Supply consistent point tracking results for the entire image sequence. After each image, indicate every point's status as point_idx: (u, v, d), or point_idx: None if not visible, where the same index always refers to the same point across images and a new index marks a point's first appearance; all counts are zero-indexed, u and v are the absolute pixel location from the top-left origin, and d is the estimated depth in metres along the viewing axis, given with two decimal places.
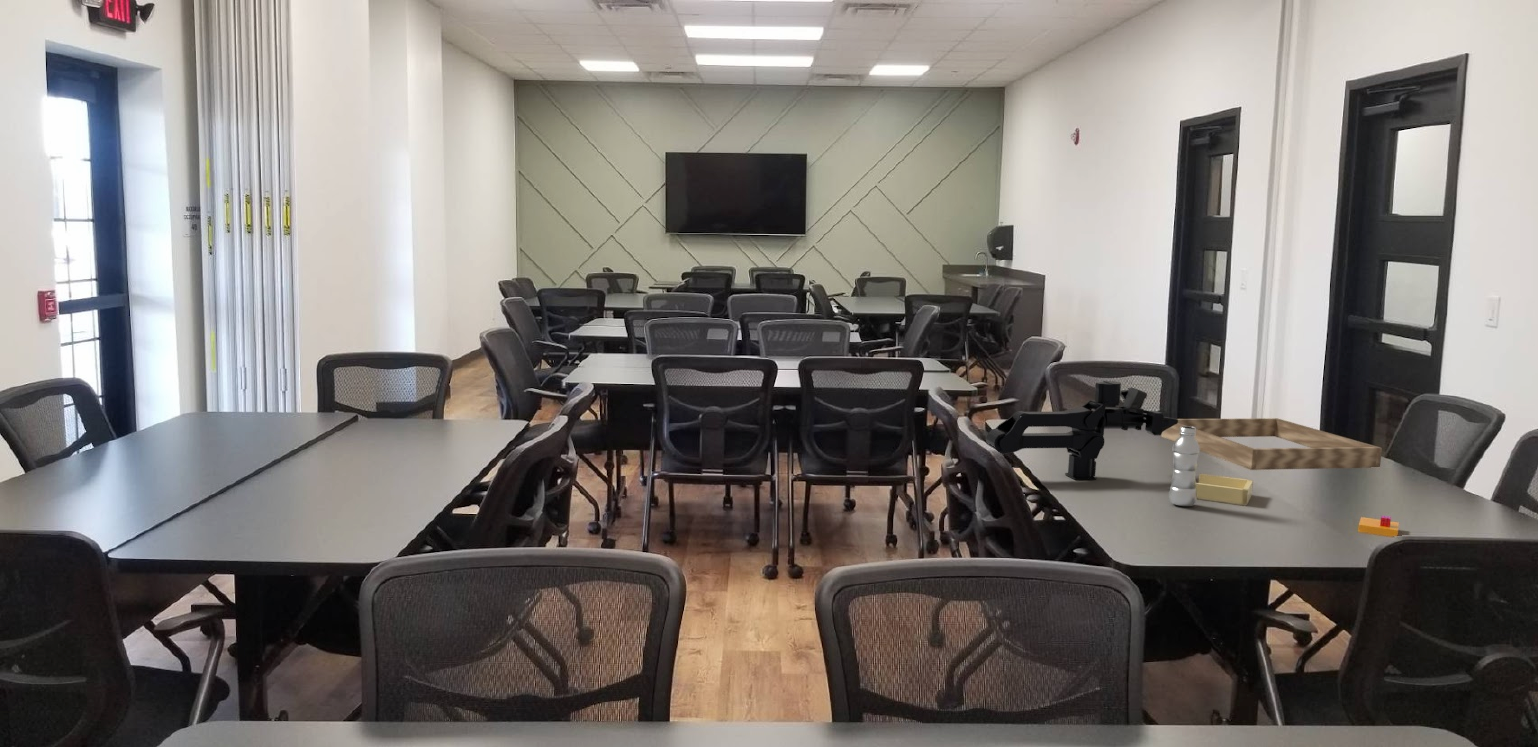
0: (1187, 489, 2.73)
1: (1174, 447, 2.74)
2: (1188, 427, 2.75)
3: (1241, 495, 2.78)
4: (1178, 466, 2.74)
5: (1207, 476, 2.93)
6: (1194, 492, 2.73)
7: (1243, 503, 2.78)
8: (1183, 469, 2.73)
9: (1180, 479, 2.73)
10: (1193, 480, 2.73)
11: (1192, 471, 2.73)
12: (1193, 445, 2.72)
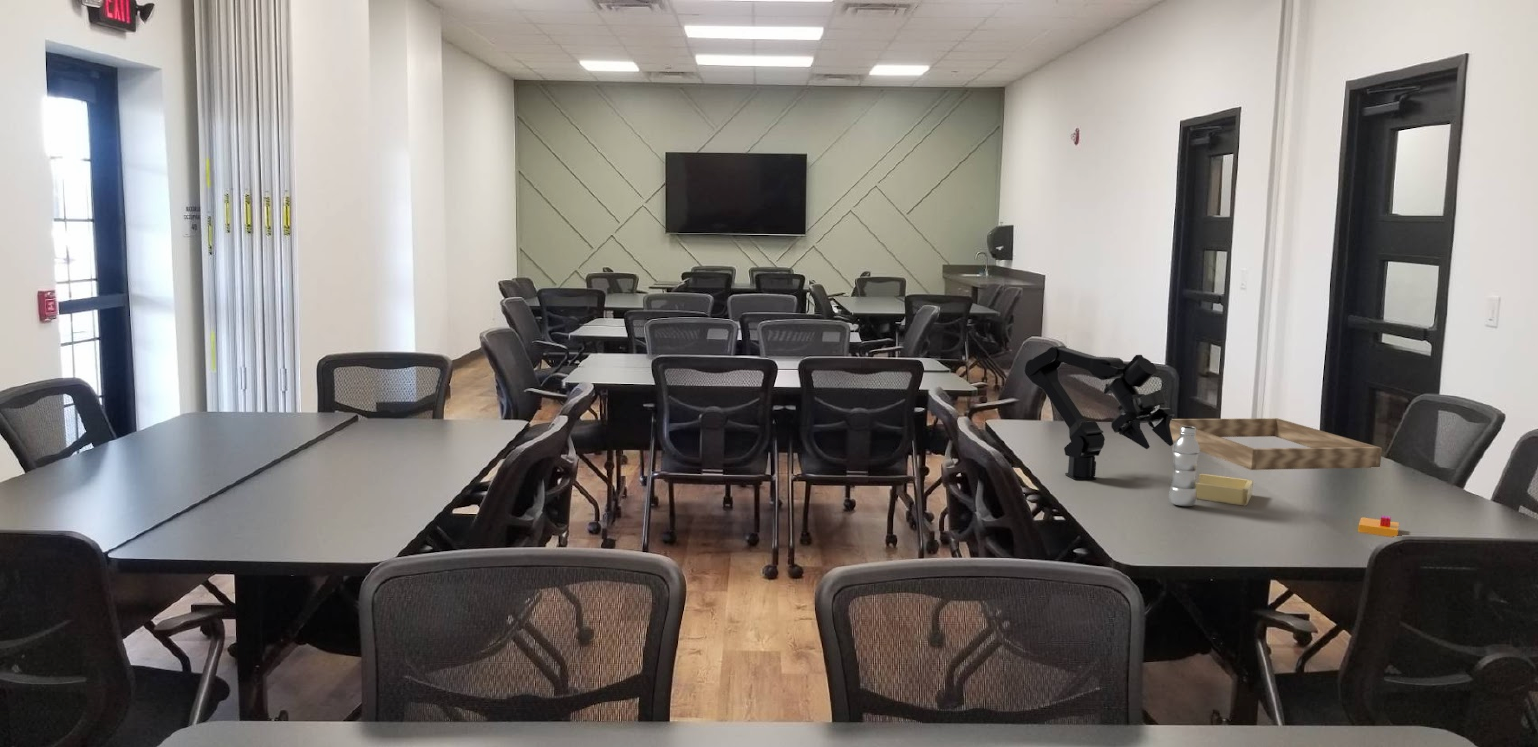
0: (1187, 489, 2.73)
1: (1174, 447, 2.74)
2: (1188, 427, 2.75)
3: (1241, 495, 2.78)
4: (1178, 466, 2.74)
5: (1207, 476, 2.93)
6: (1194, 492, 2.73)
7: (1243, 503, 2.78)
8: (1183, 469, 2.73)
9: (1180, 479, 2.73)
10: (1193, 480, 2.73)
11: (1192, 471, 2.73)
12: (1193, 445, 2.72)
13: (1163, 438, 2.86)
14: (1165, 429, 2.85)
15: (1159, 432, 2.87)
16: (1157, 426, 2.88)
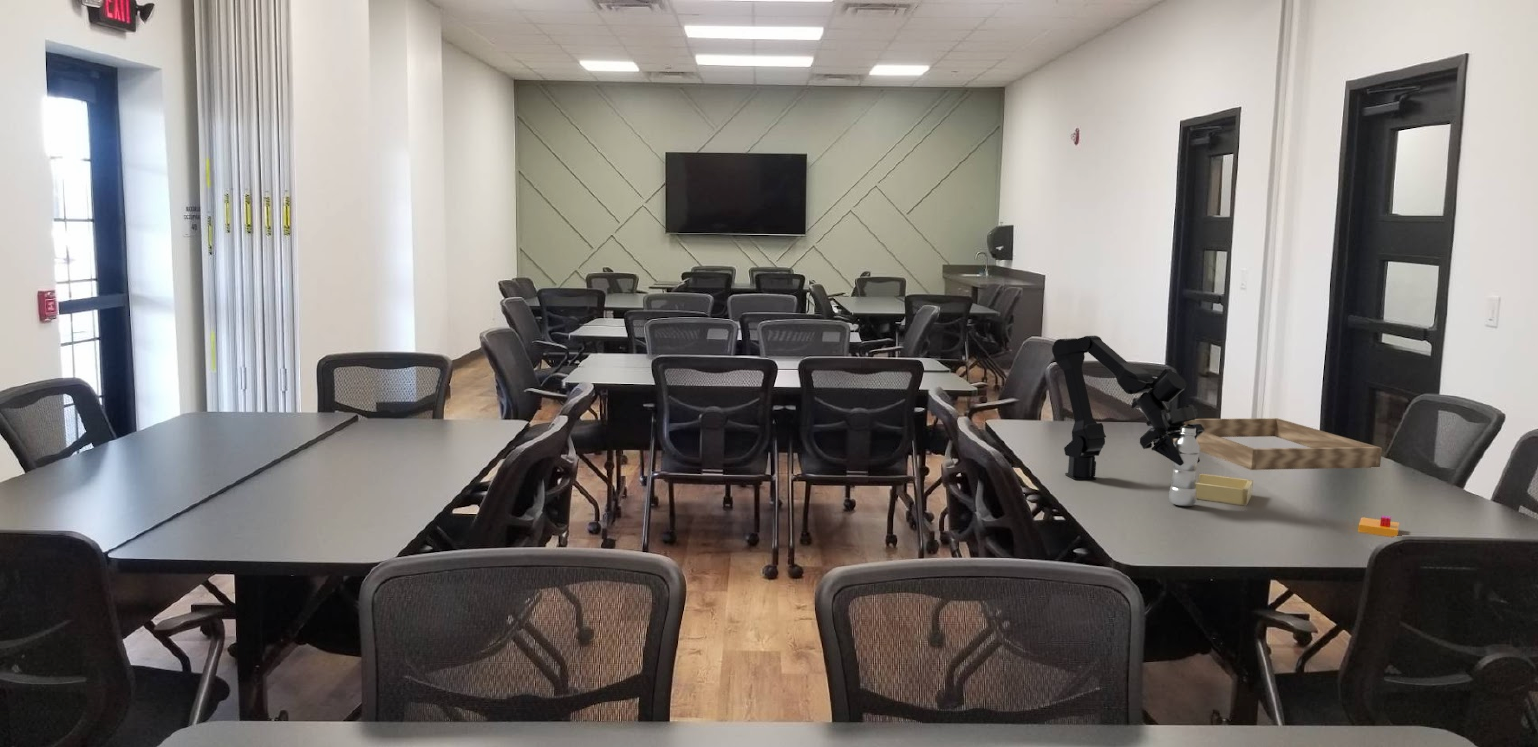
0: (1187, 489, 2.73)
1: None
2: (1188, 427, 2.75)
3: (1241, 495, 2.78)
4: (1178, 466, 2.74)
5: (1207, 476, 2.93)
6: (1194, 492, 2.73)
7: (1243, 503, 2.78)
8: (1183, 469, 2.73)
9: (1180, 479, 2.73)
10: (1193, 480, 2.73)
11: (1192, 471, 2.73)
12: (1193, 444, 2.72)
13: None
14: None
15: None
16: None
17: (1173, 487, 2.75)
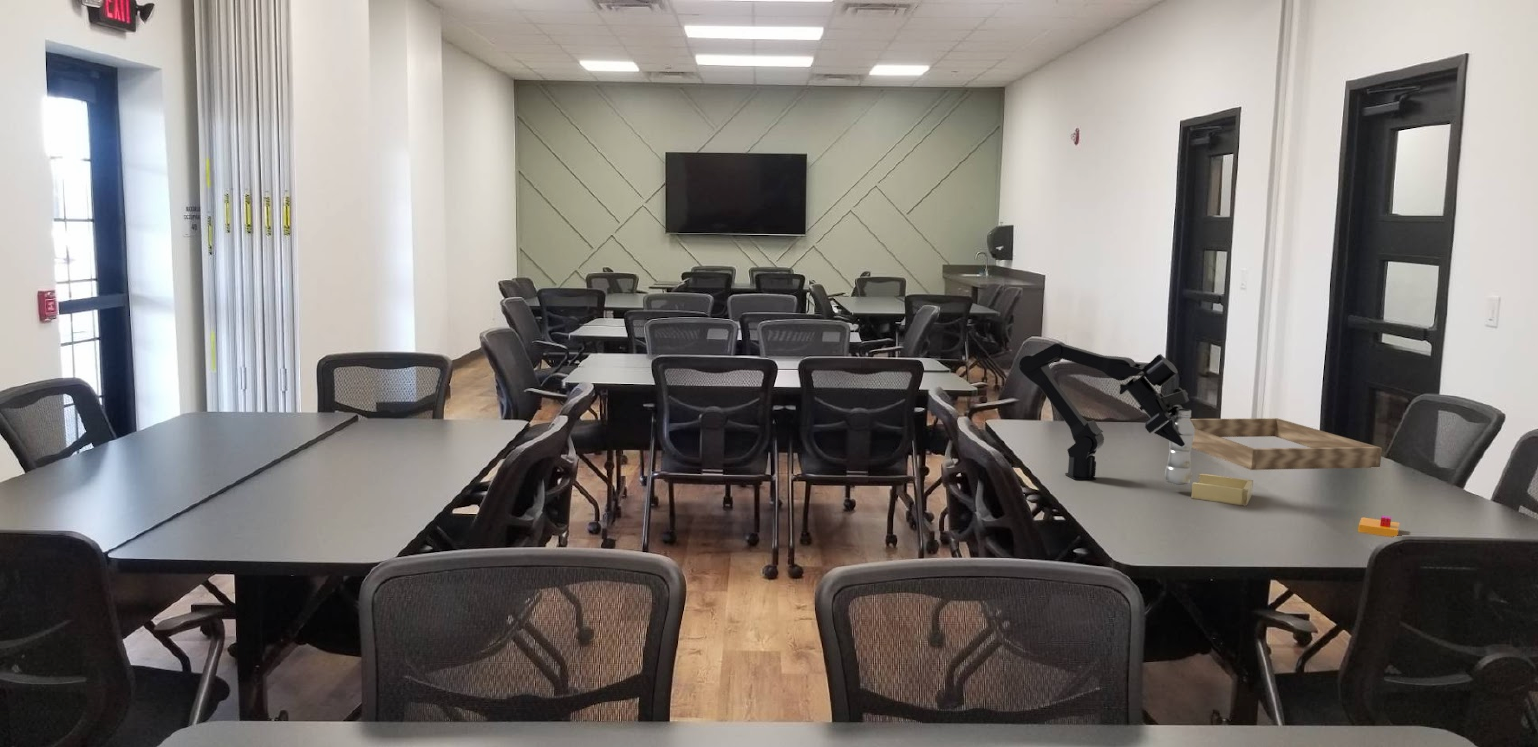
0: (1186, 468, 2.87)
1: None
2: (1181, 409, 2.89)
3: (1241, 495, 2.78)
4: (1178, 447, 2.86)
5: (1207, 476, 2.93)
6: None
7: (1243, 503, 2.78)
8: (1183, 450, 2.86)
9: (1180, 459, 2.87)
10: (1190, 459, 2.88)
11: (1189, 451, 2.87)
12: (1191, 426, 2.86)
13: None
14: None
15: None
16: None
17: (1172, 467, 2.88)
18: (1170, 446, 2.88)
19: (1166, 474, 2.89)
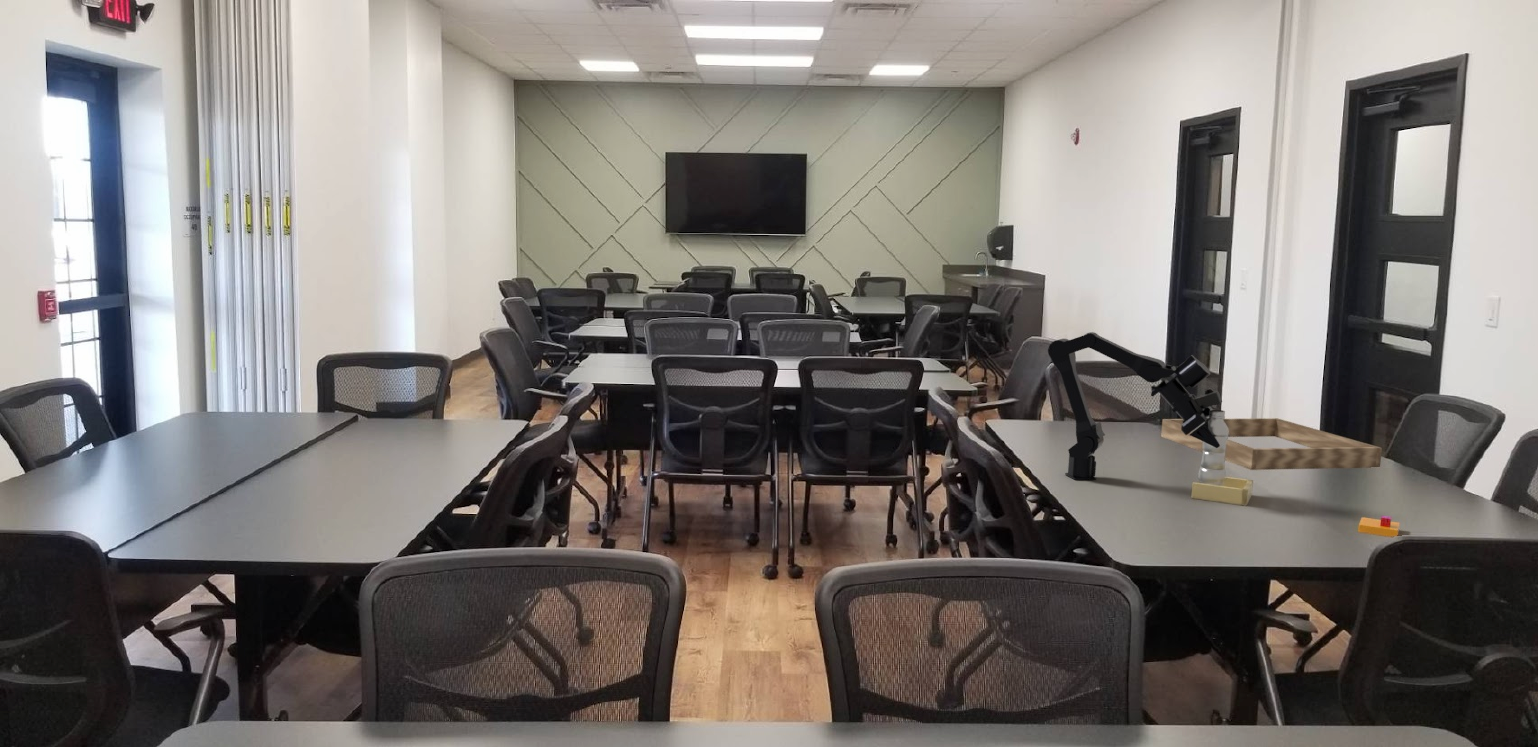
0: (1221, 470, 2.85)
1: None
2: (1214, 410, 2.87)
3: (1241, 495, 2.78)
4: (1212, 449, 2.84)
5: None
6: (1225, 472, 2.86)
7: (1243, 503, 2.78)
8: (1218, 451, 2.84)
9: (1215, 461, 2.84)
10: (1224, 460, 2.86)
11: (1223, 452, 2.85)
12: (1225, 427, 2.84)
13: None
14: None
15: None
16: None
17: (1207, 469, 2.85)
18: (1204, 448, 2.86)
19: (1200, 476, 2.87)
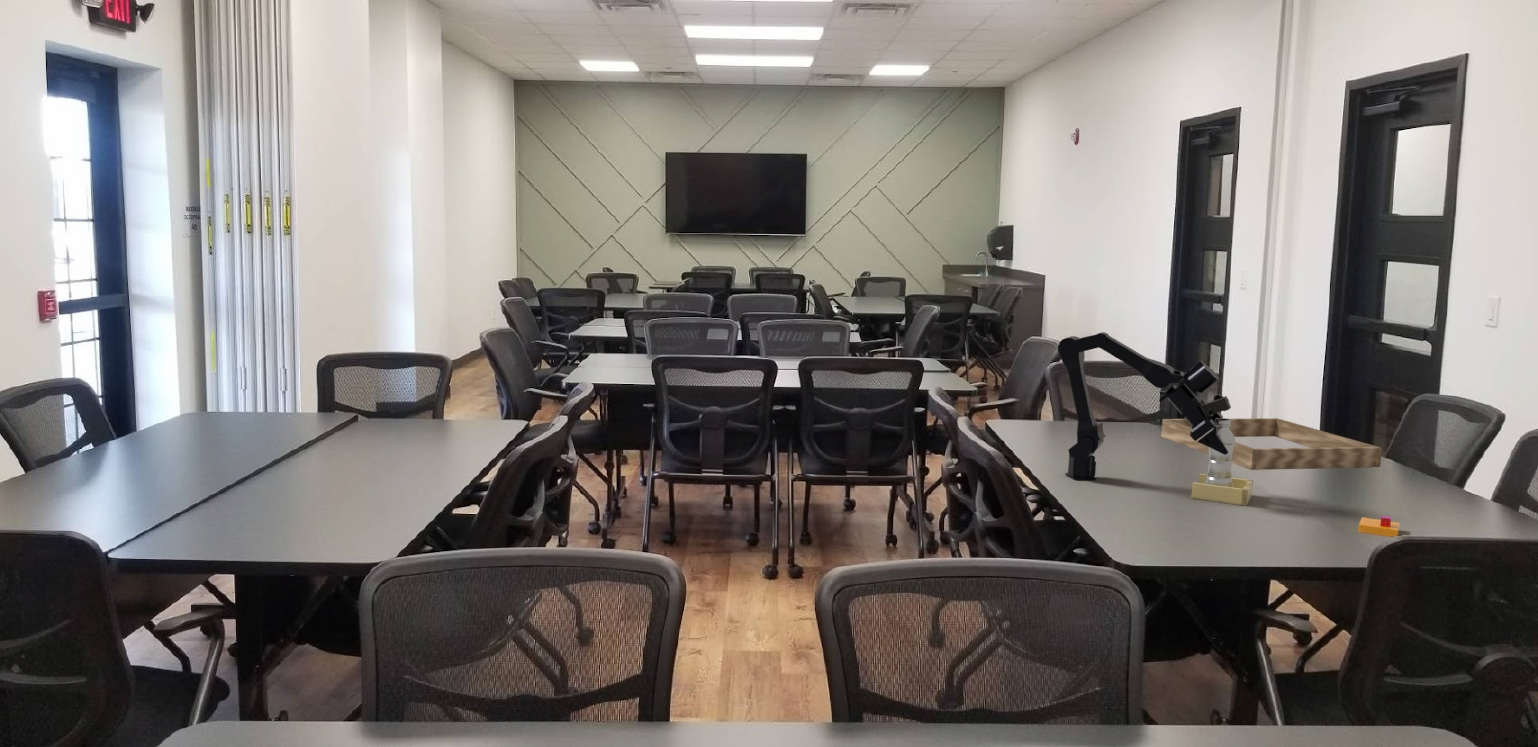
0: (1228, 478, 2.84)
1: None
2: (1219, 419, 2.87)
3: (1241, 495, 2.78)
4: (1219, 457, 2.84)
5: None
6: None
7: (1243, 503, 2.78)
8: (1224, 460, 2.84)
9: (1222, 469, 2.84)
10: None
11: (1230, 460, 2.85)
12: (1231, 435, 2.84)
13: None
14: None
15: None
16: None
17: (1214, 478, 2.85)
18: (1210, 456, 2.86)
19: None
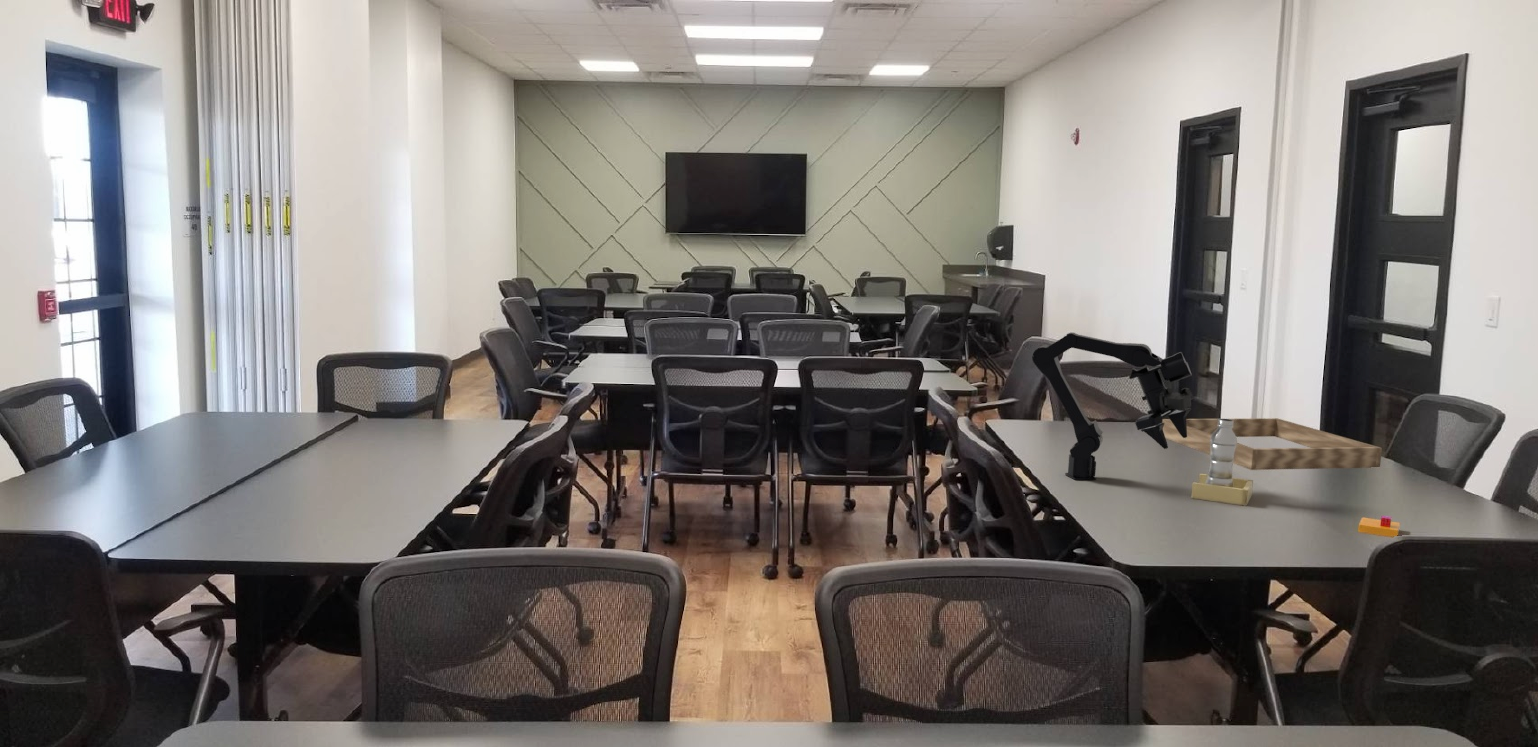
0: (1228, 479, 2.84)
1: (1216, 440, 2.83)
2: (1222, 419, 2.86)
3: (1241, 495, 2.78)
4: (1220, 458, 2.83)
5: None
6: (1232, 481, 2.85)
7: (1243, 503, 2.78)
8: (1226, 461, 2.83)
9: (1223, 470, 2.84)
10: None
11: (1231, 461, 2.84)
12: (1234, 436, 2.83)
13: (1178, 428, 2.97)
14: (1182, 421, 2.96)
15: (1174, 421, 2.97)
16: (1174, 415, 2.97)
17: (1215, 478, 2.84)
18: (1212, 457, 2.85)
19: None
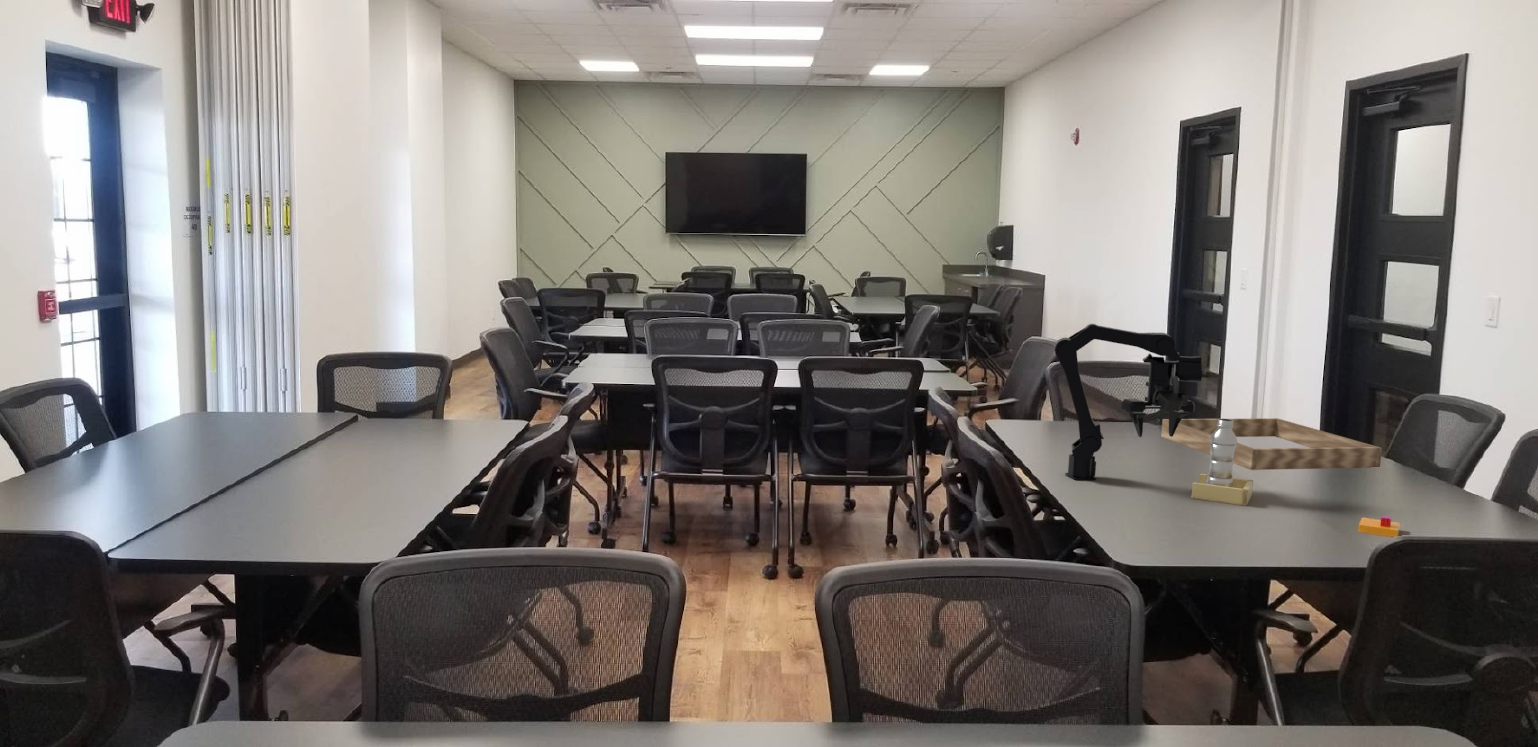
0: (1228, 479, 2.84)
1: (1216, 440, 2.83)
2: (1222, 419, 2.86)
3: (1241, 495, 2.78)
4: (1220, 458, 2.83)
5: None
6: (1232, 481, 2.85)
7: (1243, 503, 2.78)
8: (1226, 461, 2.83)
9: (1223, 470, 2.84)
10: None
11: (1231, 461, 2.84)
12: (1234, 436, 2.83)
13: (1169, 425, 2.99)
14: (1174, 421, 2.97)
15: (1170, 417, 2.99)
16: (1172, 412, 2.99)
17: (1215, 478, 2.84)
18: (1212, 457, 2.85)
19: None
